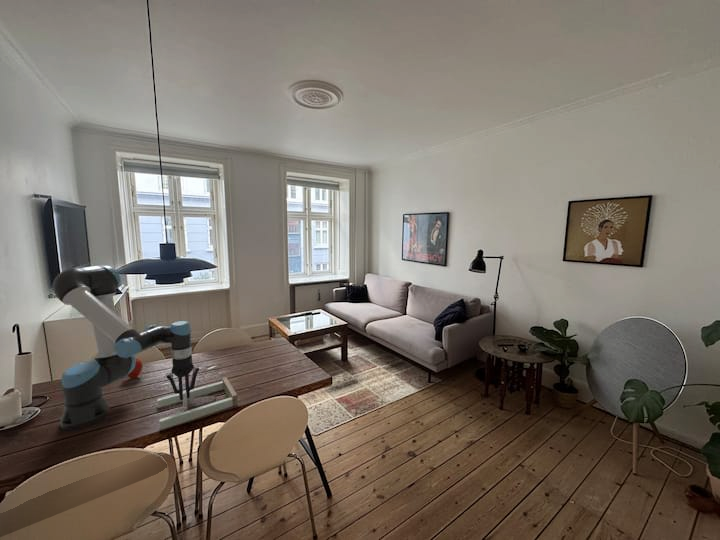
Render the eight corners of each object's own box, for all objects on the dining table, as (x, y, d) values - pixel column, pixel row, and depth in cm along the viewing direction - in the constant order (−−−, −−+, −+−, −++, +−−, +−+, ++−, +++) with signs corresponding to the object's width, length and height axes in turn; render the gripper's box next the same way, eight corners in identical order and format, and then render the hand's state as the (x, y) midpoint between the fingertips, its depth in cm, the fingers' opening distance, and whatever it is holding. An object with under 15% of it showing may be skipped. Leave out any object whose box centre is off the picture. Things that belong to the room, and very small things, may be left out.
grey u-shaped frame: (160, 429, 118) (159, 418, 117) (157, 406, 134) (156, 396, 133) (237, 404, 136) (236, 394, 136) (226, 386, 152) (226, 377, 151)
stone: (215, 399, 140) (215, 390, 139) (216, 410, 132) (216, 400, 132) (187, 406, 134) (186, 396, 134) (186, 417, 127) (186, 407, 126)
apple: (119, 380, 155) (118, 361, 154) (136, 373, 163) (134, 355, 162) (131, 383, 153) (129, 363, 151) (147, 375, 161) (145, 357, 159)
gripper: (165, 363, 122) (168, 414, 125) (200, 355, 130) (202, 404, 133) (163, 356, 128) (167, 406, 131) (197, 350, 136) (199, 396, 139)
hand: (185, 405), depth 132 cm, fingers closed
